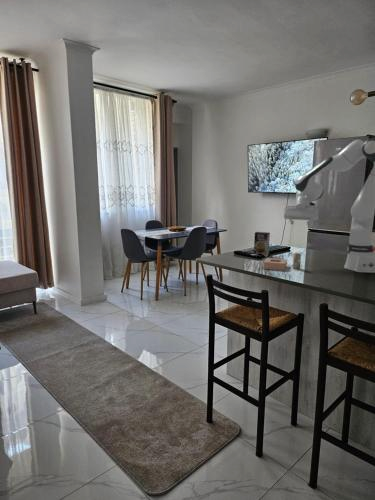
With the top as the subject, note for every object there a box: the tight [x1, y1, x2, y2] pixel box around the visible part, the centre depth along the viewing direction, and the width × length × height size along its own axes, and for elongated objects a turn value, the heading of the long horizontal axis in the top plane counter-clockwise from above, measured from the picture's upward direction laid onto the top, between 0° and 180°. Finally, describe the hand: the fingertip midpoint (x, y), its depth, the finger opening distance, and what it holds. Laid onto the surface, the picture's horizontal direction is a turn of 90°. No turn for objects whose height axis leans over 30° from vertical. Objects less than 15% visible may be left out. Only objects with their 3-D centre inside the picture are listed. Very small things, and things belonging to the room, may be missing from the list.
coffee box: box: [253, 231, 271, 258], centre depth 234 cm, size 9×6×16 cm
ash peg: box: [292, 252, 302, 270], centre depth 198 cm, size 4×4×9 cm
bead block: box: [262, 257, 288, 272], centre depth 202 cm, size 12×12×4 cm
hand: (300, 224), depth 207 cm, fingers open, 8 cm apart
